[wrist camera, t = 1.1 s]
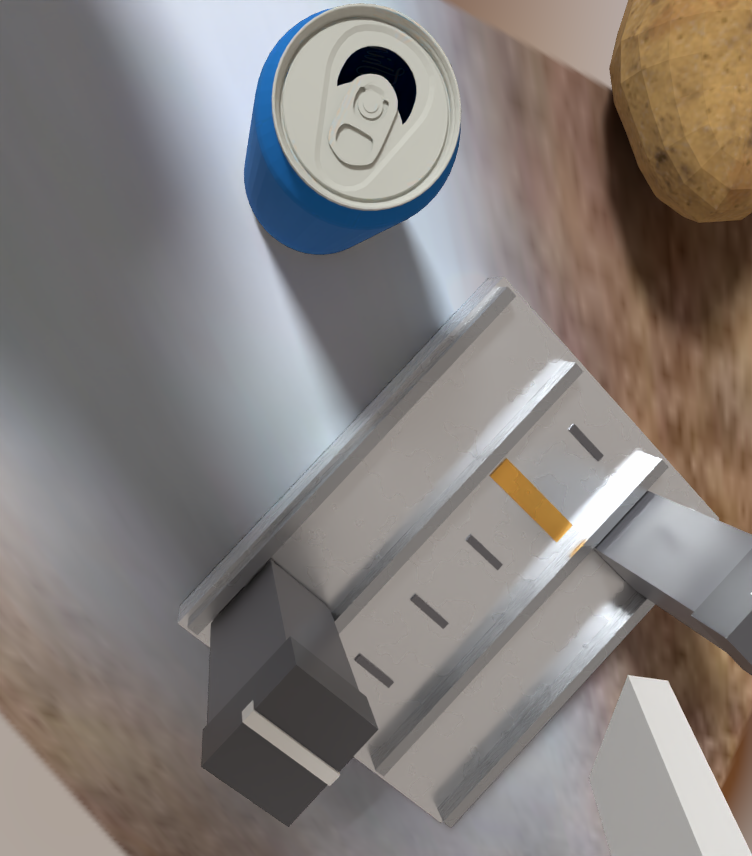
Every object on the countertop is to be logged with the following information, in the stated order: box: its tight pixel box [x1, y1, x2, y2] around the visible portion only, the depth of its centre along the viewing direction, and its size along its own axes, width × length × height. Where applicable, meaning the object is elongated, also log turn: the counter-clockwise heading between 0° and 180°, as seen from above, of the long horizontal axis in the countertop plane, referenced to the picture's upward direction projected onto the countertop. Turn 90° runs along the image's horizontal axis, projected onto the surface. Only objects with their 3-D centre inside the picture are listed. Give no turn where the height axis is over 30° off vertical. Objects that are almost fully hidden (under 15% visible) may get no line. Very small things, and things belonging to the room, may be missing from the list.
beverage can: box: [244, 3, 461, 255], centre depth 25 cm, size 6×6×12 cm
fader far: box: [594, 491, 752, 675], centre depth 31 cm, size 4×4×10 cm
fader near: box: [201, 560, 378, 827], centre depth 27 cm, size 4×4×10 cm
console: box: [178, 277, 719, 828], centre depth 34 cm, size 18×22×3 cm
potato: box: [610, 0, 752, 223], centre depth 30 cm, size 10×14×8 cm
